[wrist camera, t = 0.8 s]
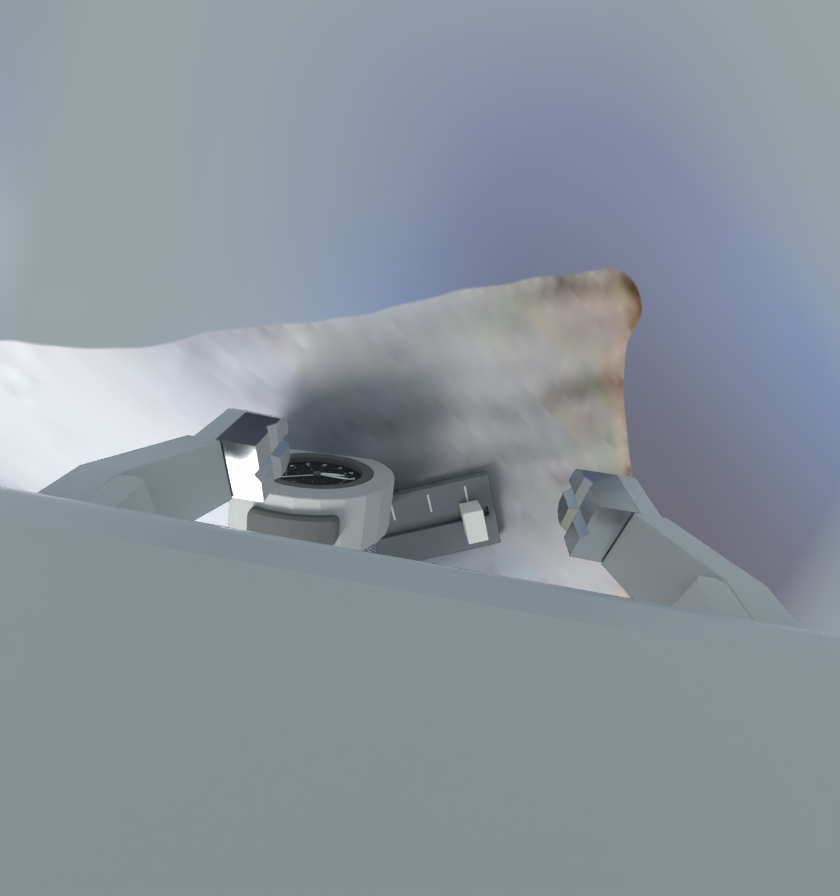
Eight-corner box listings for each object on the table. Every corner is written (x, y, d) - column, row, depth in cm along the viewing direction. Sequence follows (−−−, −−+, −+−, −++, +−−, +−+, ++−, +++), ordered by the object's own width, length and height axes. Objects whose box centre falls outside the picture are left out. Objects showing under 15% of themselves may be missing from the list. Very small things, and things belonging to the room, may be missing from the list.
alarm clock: (396, 461, 57) (392, 511, 38) (391, 504, 59) (384, 573, 40) (261, 444, 56) (185, 488, 37) (259, 489, 58) (186, 553, 38)
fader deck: (497, 536, 61) (501, 542, 59) (383, 562, 61) (382, 569, 59) (485, 470, 58) (488, 475, 56) (365, 498, 58) (364, 502, 56)
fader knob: (481, 524, 59) (488, 540, 54) (463, 528, 59) (469, 544, 54) (475, 496, 57) (482, 509, 52) (457, 501, 57) (462, 514, 52)
